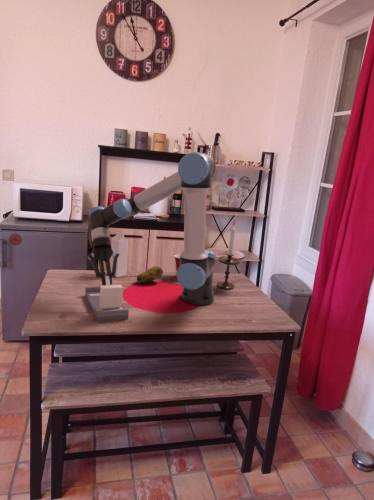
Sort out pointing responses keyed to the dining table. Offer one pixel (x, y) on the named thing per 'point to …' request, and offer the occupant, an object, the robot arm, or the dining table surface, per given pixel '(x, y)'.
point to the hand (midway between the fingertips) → (108, 292)
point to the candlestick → (228, 263)
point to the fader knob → (111, 297)
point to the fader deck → (99, 314)
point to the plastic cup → (177, 261)
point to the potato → (150, 275)
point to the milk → (120, 254)
